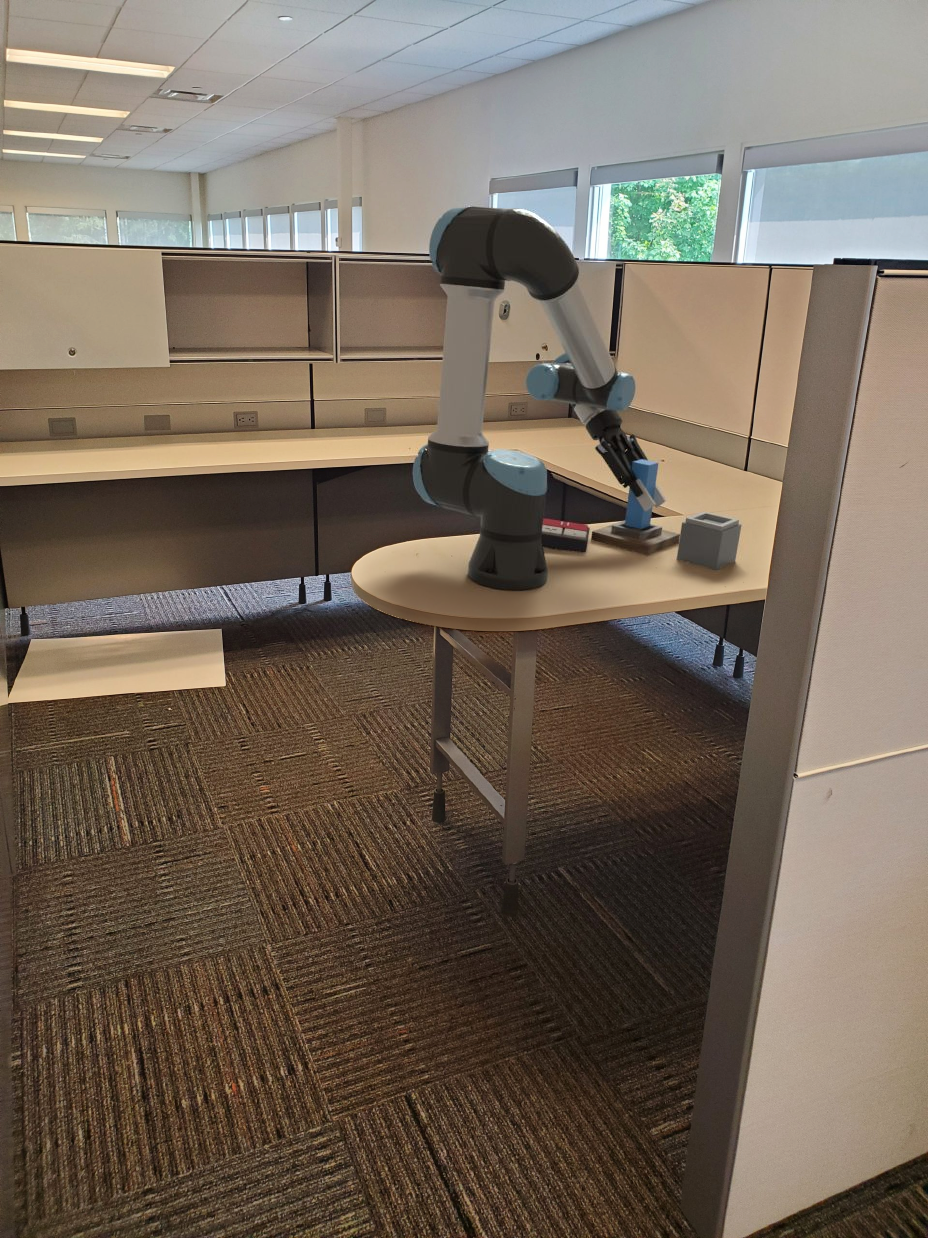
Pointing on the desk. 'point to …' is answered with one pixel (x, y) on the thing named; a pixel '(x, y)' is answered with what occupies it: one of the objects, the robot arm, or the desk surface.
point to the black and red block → (564, 535)
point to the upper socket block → (709, 540)
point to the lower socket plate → (636, 538)
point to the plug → (634, 509)
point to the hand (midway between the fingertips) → (655, 505)
